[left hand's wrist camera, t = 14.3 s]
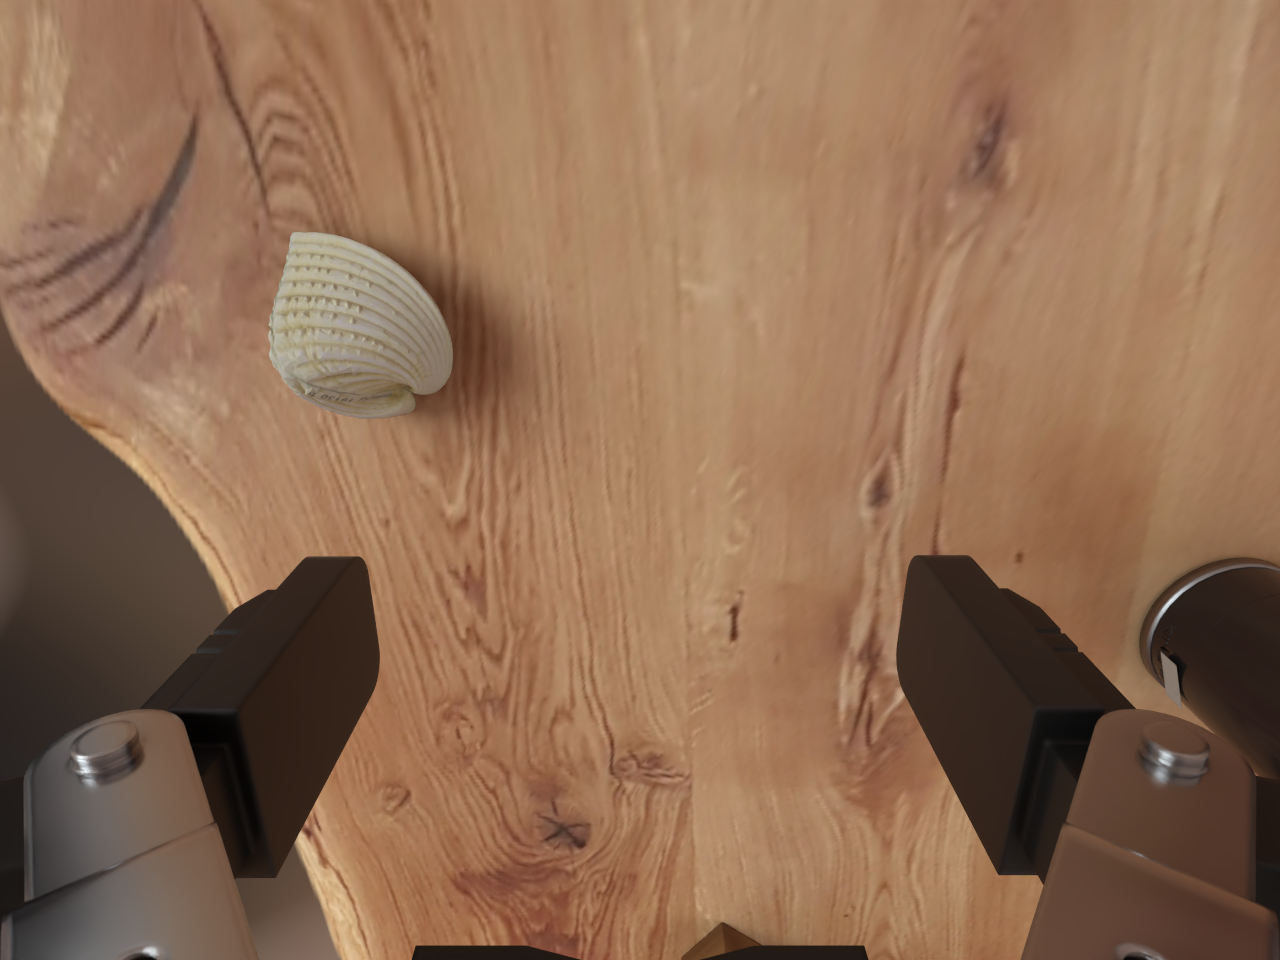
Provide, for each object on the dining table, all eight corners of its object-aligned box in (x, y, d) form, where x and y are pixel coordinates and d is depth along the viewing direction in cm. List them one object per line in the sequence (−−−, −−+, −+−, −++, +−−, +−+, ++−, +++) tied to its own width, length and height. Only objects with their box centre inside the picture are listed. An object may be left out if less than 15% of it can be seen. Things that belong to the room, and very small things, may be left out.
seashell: (374, 470, 40) (216, 406, 34) (392, 344, 44) (254, 270, 39) (473, 404, 35) (309, 319, 30) (482, 271, 39) (340, 176, 34)
